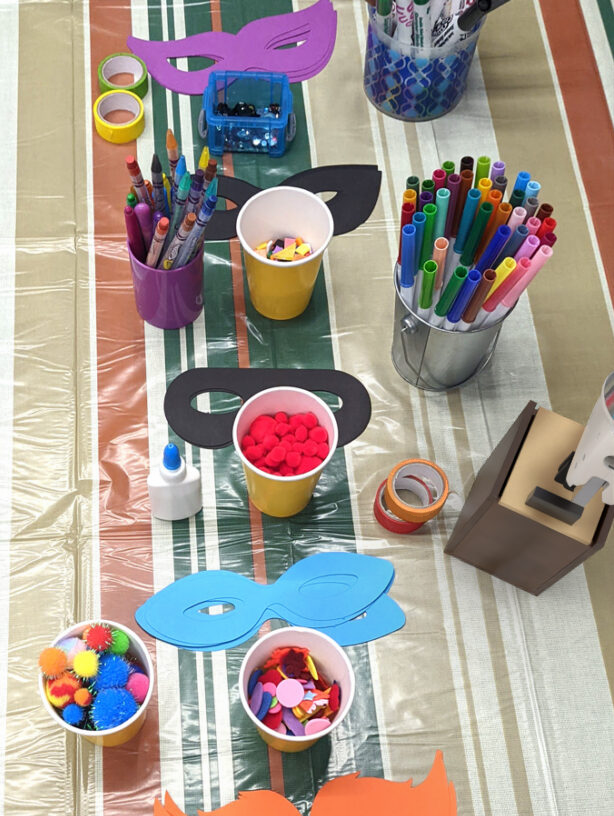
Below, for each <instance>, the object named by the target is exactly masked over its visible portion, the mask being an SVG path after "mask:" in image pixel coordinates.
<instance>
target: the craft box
mask: <svg viewBox="0 0 614 816" xmlns="http://www.w3.org/2000/svg"><path fill="white" fill-rule="evenodd" d="M537 406H538V402H536V401H534V400H532V399H530V400H528V402H527V403H526V405H525V406H524V408H523V409H522V411H521V412H520V413H519V414H518V415H517V417H516V419H515V420H514V421H513V423H512V424H511V425H510V427H509V428H508V430H507V431H506V432H505V434H504V435H503V437H502V438H501V439H500V440H499V442H498V443H497V445H496V446H495V448H494V449H493V450H492V452H491V453H490V454H489V455H488V457H487V459H486V460H485V461H484V463H483V464H482V465H481V467H480V468H479V470H478V472H477V473H476V476H475V478H474V481H473V483H472V485H471V488H470V490H469V492H468V494H467V497H466V499H465V501H464V504H463V506H462V508H461V511H460V513H459V515H458V517H457V520H456V522H455V525H454V526H453V529H452V531H451V533H450V536H449V538H448V540H447V543H446V545H445V547H444V549H443V553H445V554H447V555H450V556H451V557H453V558H454V559H456V560H457V559H458V560H459V561H462V562H464V563H466V564H468V565H469V566H472V567H474V568H477V569H478V570H481V571H483V572H484V573H487V574H489V575H491V576H493V577H495V578H497V579H499V580H502V581H504V582H505V583H507V584H510V585H512V586H514V587H516V588H518V589H520V590H523V591H524V592H526V593H528V594H531V595H533V596H535V597H539V596H541V594H542V593H544V592H545V591H546V590H548V589H549V588H550V587H552V586H553V585H555V584H556V583H557V582H558V581H560V580H561V579H563V578H564V577H566V576H567V575H568V574H570V573H571V572H572V571H573V570H575V569H576V568H577V567H579V566H580V565H582V564H583V563H584V562H585V561H587V560H588V559H590V558H591V557H593V556H594V555H595V554H596V553H597V552H599V551H601V550H602V549H603V548H604V547H605V544H606V541H607V538H608V536H609V533H610V530H611V528H612V525H613V522H614V505H609V504H606V503H605V506H604V508H603V511H602V514H601V517H600V519H599V522H598V525H597V527H596V530H595V533H594V535H593V538H592V541H591V543H590V544H589V545H585V544H583V543H581V542H579V541H577V540H575V539H573V538H570V537H568V536H566V535H564V534H562V533H560V532H558V531H555V530H553V529H551V528H549V527H547V526H545V525H543V524H540V523H538V522H536V521H534V520H532V519H530V518H528V517H525V516H523V515H521V514H519V513H517V512H515V511H513V510H510V509H508V508H506V507H504V506H502V505H500V504H498V502H499V500H500V497H501V495H502V492H503V490H504V488H505V485H506V483H507V481H508V478H509V476H510V474H511V471H512V469H513V466H514V464H515V462H516V459H517V457H518V455H519V452H520V450H521V447H522V445H523V443H524V440H525V438H526V436H527V433H528V431H529V428H530V426H531V424H532V421H533V419H534V417H535V414H536V412H537V409H538V408H536V407H537Z"/></svg>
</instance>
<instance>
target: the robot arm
mask: <svg viewBox="0 0 614 816" xmlns="http://www.w3.org/2000/svg"><path fill="white" fill-rule="evenodd" d="M585 426H586V427H585V430H584V432H583V435H582V437H581V440H580V442H579V445H578V447H577V450H576V452H575V451H572V453H571V454H570V455H569V456H568V457H567V458H566V459H565V460H564V461H563V462H562V463H561V464H560V466H559V468H558V473H557V474H556V476H555V478H554V481H556V482H558V483H560V484H562V485H563V487H564V488H565V489H567V490H569V491H571V492H573V495H572V498H571V502H573V503H575V504H578V505H580V506H582V507H585V506H586V504H587V503H588V502H589V501H590V500H591V498H592V497H593V496H594V495H595V494H596V492H597V491H598V490H599V489H600V488H601V487H603V488H605V489H604V490H603V491H602V502H603V503H606V504H609V505H614V368H613V369H612V370H611V371H610V373H608V375H607V376H606V378H605V379H604V381H603V383H602V387H601V392H600V395H599V397H598V399H597V400H596V402H595V404H594V406H593V408H592V411H591V413H590V415H589V418H588V420H587V422H586V425H585Z"/></svg>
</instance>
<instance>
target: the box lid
mask: <svg viewBox="0 0 614 816" xmlns="http://www.w3.org/2000/svg"><path fill="white" fill-rule="evenodd" d="M536 409H537V412H536V414H535V417H534V419H533V421H532V424H531V426H530V428H529V431H528V433H527V436H526V438H525V440H524V443H523V445H522V447H521V450H520V452H519V455H518V457H517V459H516V462H515V464H514V466H513V469H512V471H511V474H510V476H509V478H508V481H507V483H506V485H505V488H504V490H503V492H502V495H501V497H500V500H499V502H498V504H500V505H502V506H504V507H506V508H508V509H510V510H513V511H515V512H517V513H519V514H521V515H523V516H525V517H528V518H530V519H532V520H534V521H536V522H538V523H540V524H543V525H545V526H547V527H549V528H551V529H553V530H555V531H558V532H560V533H562V534H564V535H566V536H568V537H570V538H573V539H575V540H577V541H579V542H581V543H583V544H585V545H589V544H590V543H591V541H592V538H593V535H594V533H595V530H596V527H597V525H598V522H599V519H600V517H601V514H602V511H603V508H604V506H605V503H603V502H602V491H603V490H604V489H605V488H603V487H601V488H600V489H599V490H598V491H597V492H596V494H595V495H594V496H593V497H592V498H591V500H590V501H589V502H588V503H587V504H586V506H585V507H582V506H580V505H578V504H575V503H573V502H571V498H572V495H573V492H571V491H569V490H567V489H565V488H564V487H563V485H562V484H560V483H558V482H556V481H554V478H555V476H556V474H557V473H558V468H559V466H560V464H561V463H562V462H563V461H564V460H565V459H566V458H567V457H568V456H569V455H570V454H571V453H572V451H575V452H576V450H577V447H578V445H579V442H580V440H581V437H582V435H583V432H584V430H585V427H586V425H583V424H581V423H579V422H576V421H574V420H572V419H570V418H567V417H565V416H563V415H561V414H559V413H557V412H554V411H552V410H550V409H547V408H545V407H543V406H541V405H540V406H539V407H538V408H536Z"/></svg>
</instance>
